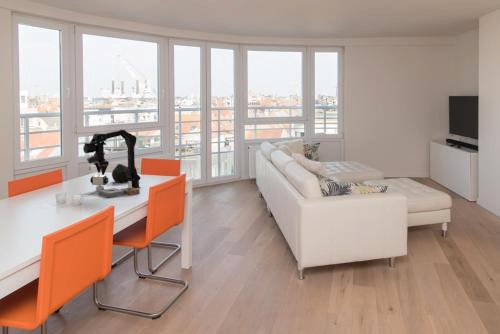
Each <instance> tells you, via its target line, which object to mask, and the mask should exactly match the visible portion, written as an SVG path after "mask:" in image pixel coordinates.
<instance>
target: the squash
mask: <svg viewBox="0 0 500 334" xmlns="http://www.w3.org/2000/svg"><path fill="white" fill-rule="evenodd" d="M127 167H128V166H126V165H124V164H122V163H118V164H117V165H116V166H115V167H114V169H112V172H111V178H112V179H113V181H114V182H115V183H122V182H127V183H128V181H129V180H130V179H128V177H127V176H126V174H125V169H127Z"/></svg>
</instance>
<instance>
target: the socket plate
mask: <svg viewBox="0 0 500 334" xmlns="http://www.w3.org/2000/svg"><path fill="white" fill-rule="evenodd" d="M97 192H98V195H99V196H102V197H105V198H107V199H109V198H115V197H122V196H126V195H125V194H124V191H123V190H121V189H119V188H117V187H110V188H106V189H105V188H104V190H98V191H97Z"/></svg>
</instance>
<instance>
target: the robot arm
mask: <svg viewBox="0 0 500 334" xmlns="http://www.w3.org/2000/svg"><path fill="white" fill-rule="evenodd" d="M116 137H121V138H123V139H124V143H125V145H126V147H127V149H126V150H127V166H126V167H127V169H125V174H126V176H127V177H128V179H130V180H129V181H131V182H132V187H133V188H136V189H139V188H140V189H141V186H140V180H141V176H140V175H139V174H138V169H137V167H136V163H135V146H136V145H137V137H136V135H135V134H132V133H130V132H128V131H127V130H125V129H118V130H113V131H110V132H104V133H103V132H102V133H100V132H99V133H98V132H97V133H96V132H95V133H94V134H93V135H92V138H91V139H90V141H89V142H84V145H83V148H82V149H83V153H85V154H93V155H91V156H90V157H89V156H88V157H87V158H86V161H87V163H88V164H93V165H94V166H95V168H96V171H97V173H98V174H100V173H101V176H105V173H106V172H107V171H106V170H107V169H108V166H109V165H110V162H109V161H108V160H106V158H105V155H106V153H105V150H104V149H105V148H104V146H106V145H107V142H105V141H107V140H108V139H112V138H116Z"/></svg>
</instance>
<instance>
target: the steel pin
mask: <svg viewBox="0 0 500 334" xmlns="http://www.w3.org/2000/svg"><path fill="white" fill-rule="evenodd" d="M127 188H128V190H132V182H131V181H128V182H127Z"/></svg>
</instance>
